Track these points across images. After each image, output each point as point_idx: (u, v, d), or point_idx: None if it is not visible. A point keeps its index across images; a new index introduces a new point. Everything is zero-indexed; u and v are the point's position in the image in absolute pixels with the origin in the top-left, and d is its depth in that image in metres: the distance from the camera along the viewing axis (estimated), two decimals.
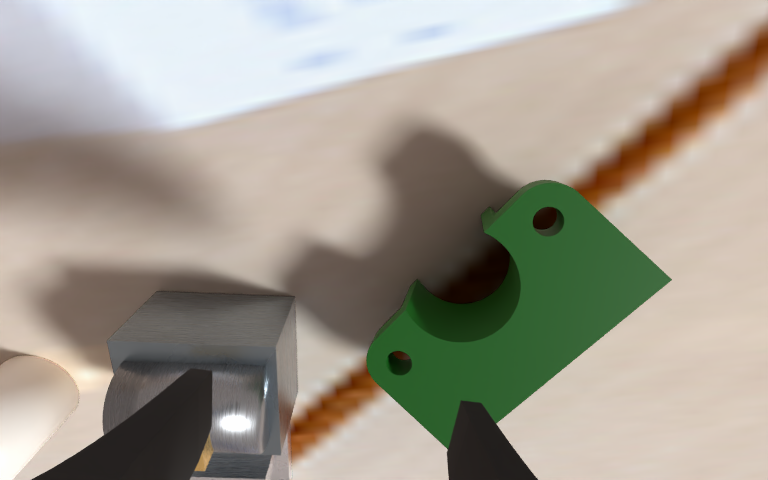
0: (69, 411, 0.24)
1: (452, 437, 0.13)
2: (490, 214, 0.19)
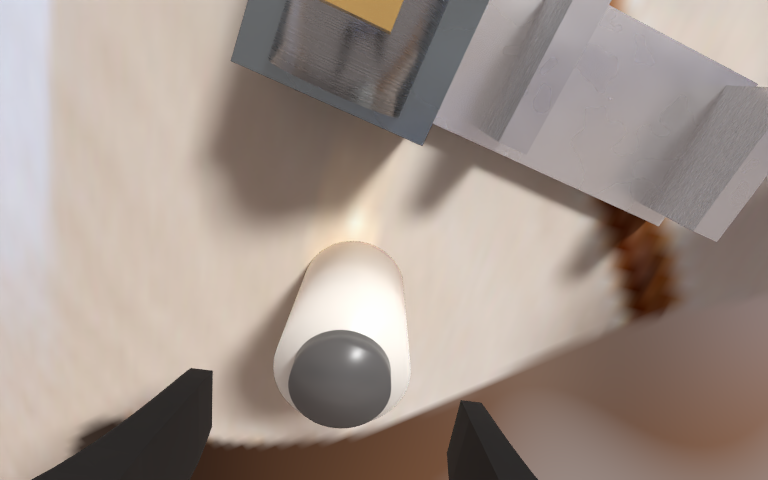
0: (387, 261, 0.19)
1: (452, 437, 0.13)
2: None
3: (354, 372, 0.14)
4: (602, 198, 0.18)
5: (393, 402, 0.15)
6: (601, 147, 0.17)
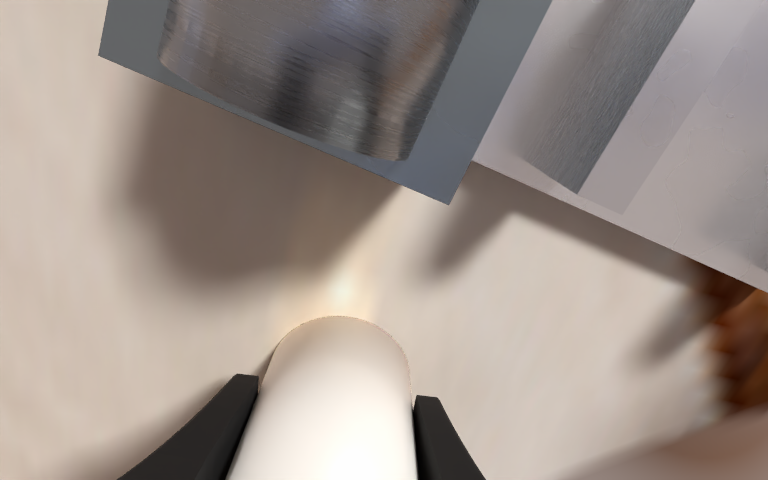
0: (387, 348, 0.13)
1: None
2: None
3: None
4: (705, 261, 0.12)
5: None
6: (710, 188, 0.11)
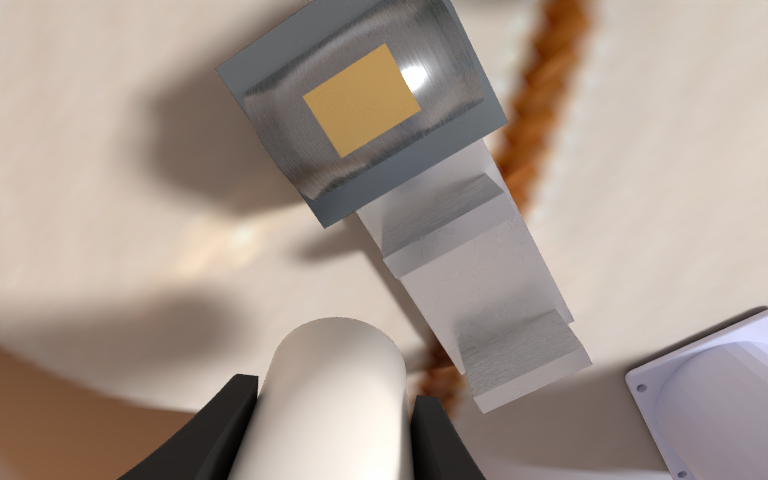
0: (391, 354, 0.14)
1: None
2: None
3: None
4: (436, 333, 0.21)
5: None
6: (456, 298, 0.20)
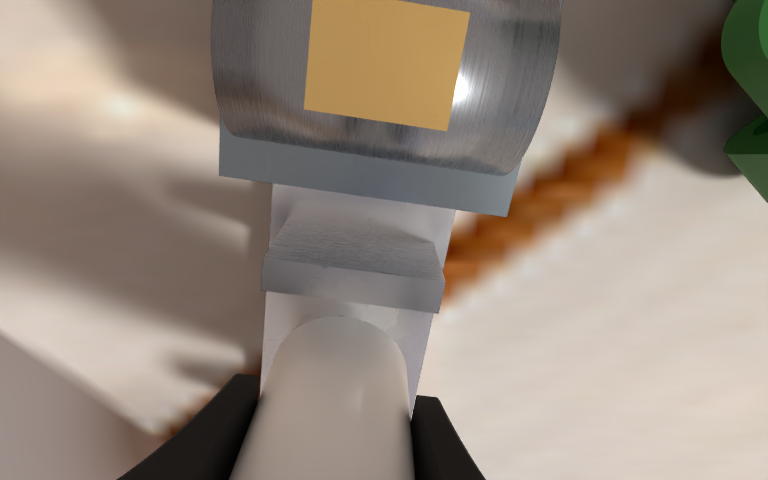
0: (392, 353, 0.14)
1: None
2: None
3: None
4: (263, 363, 0.17)
5: None
6: None
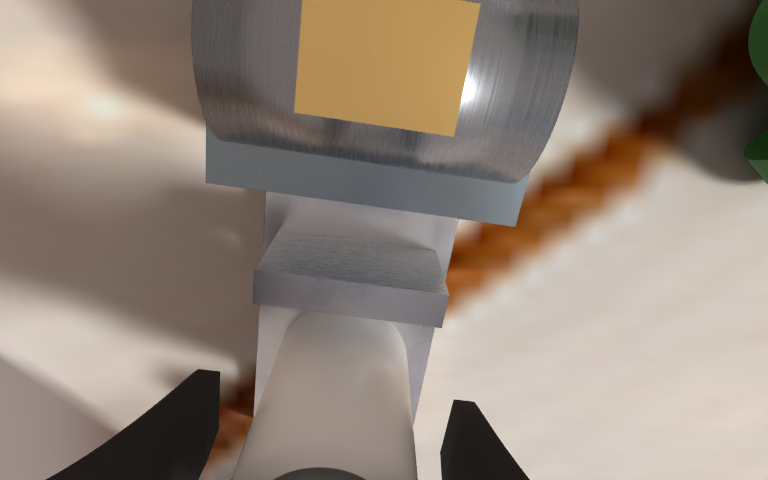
0: (393, 338, 0.14)
1: (445, 436, 0.13)
2: None
3: None
4: (258, 376, 0.16)
5: None
6: None
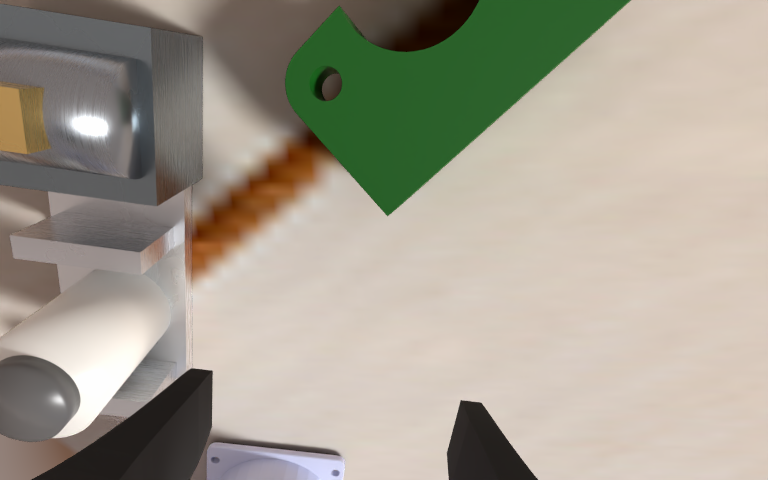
0: (146, 290, 0.21)
1: (452, 437, 0.13)
2: None
3: (30, 395, 0.15)
4: None
5: (85, 423, 0.17)
6: None
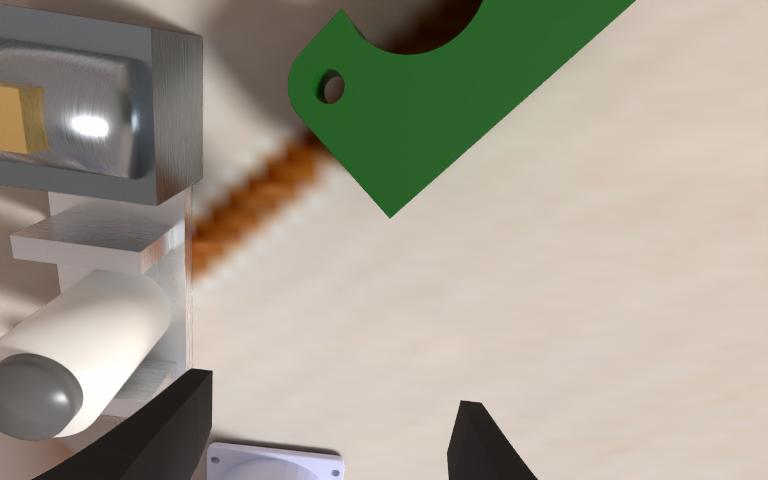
0: (147, 290, 0.21)
1: (452, 437, 0.13)
2: None
3: (33, 393, 0.15)
4: None
5: (87, 421, 0.17)
6: None
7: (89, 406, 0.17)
